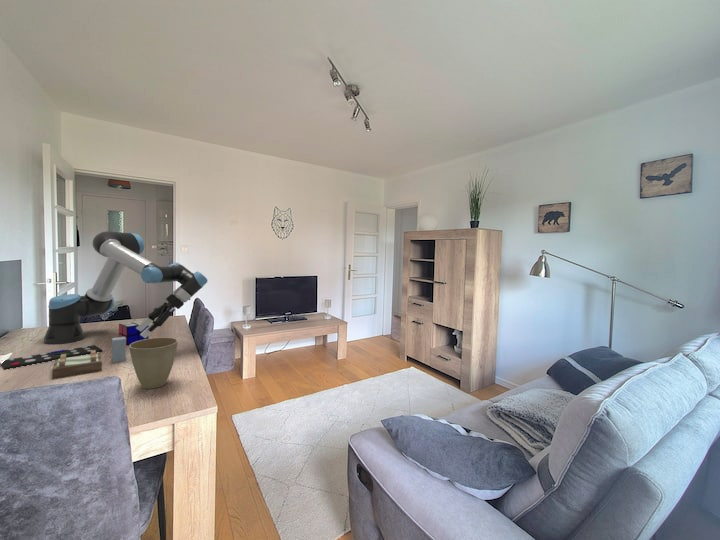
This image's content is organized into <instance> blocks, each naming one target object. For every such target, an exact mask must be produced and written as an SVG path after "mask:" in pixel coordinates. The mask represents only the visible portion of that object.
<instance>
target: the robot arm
mask: <svg viewBox="0 0 720 540" xmlns="http://www.w3.org/2000/svg"><path fill="white" fill-rule="evenodd" d="M92 248H93V249H94V251H96V253H98V254H99V255H100V256H102V257H105V258H107V259H106V261H105V263H104V265H103V267H102V269H101V270H100V273H99V275H98V277H97V278H96V280H95V283H93V286H92V287H91V288H88V289H87V290H86V291H85V294H84V295H80V294H78V293H69V294H61V295H57V296H54V297H51V298H50V299H49V300H48V301H49V302H48V328H47V330H46V333H45V335H44V336H43V343H44V344H47V343H49V344H48V345H57V344H59V343H61V344H67V343H68V344H69V343H73V342H74V343H75V342H78V341H81V340H83V339H85V332H84V330H83V327H82V326H81V318H87V317H88V318H89V317H93V316H101V315H104V314H108V313H109V312H111V311H112V310H113V308H114V306H115V303H114V302H115V299H114V297H113V294H112V292H113V291H114V289H115V286H116V284H117V283H118V281H119V279H120V277H121V275H122V273H123V272H124V270H125V268H128V269H130V270H132V271H133V272H135V273H137V274H138V275H140V277H141V278H140V279H142V281H143V282H144V283H146V284H159V283H161V284H162V283H169V282H170V283H171V282H178V283H179V284H181V285H180V286H178V287H177V288H176V289H175V290H173V292H172V293H171V294H169V296H166V298H165V300H166V301H167V302H163V304H161V305H160V306H159V307H157V308H156V309H155V310H153V311H152V312H150V313H148V316H147V317H146V318H145V319H144V320H143V321H142V323H141V324H140V325H139V326H137V327H136V329H138V330H139V331H142V330H143V329H145V328H146V327H147V326H148V325H149V327H147V328H146V329H145V330H144V331H143V332H142V333H141V334H140V335H141V336H143V337H144V338H146V337H147V336H148V337H150V335H151V334H152V333H153V332H154V331H155V330H157V328H159V327H162V326H163V325H164V323H165V322H166V321H167V320H168V319H169V317H171V315H172V314H173V313H174V312H175V311H176V309H177V310H178V309H181V308H182V307H183V306H184V304H185V303H187V302H188V301H190V300H191V298H192V297H194V296H195V294H197V292H199V291H200V290H201V289H203V288H204V286H205V285H206V284H207V283H208V278H207V277H206V276H205V275H204V274H202V272H199V271H195V272H192V271H191V270H189V269H188V268H186V267H185V265H183V264H181V263H180V262H173V263H170V264H169V265H168V266H160V265H158V264H156V263H154V262H152V261H151V260H149V259H147V258H145V257H143V256H142V255H141V254H142V253H143V252H144V251H145V243H144V240H143V238H142V237H141V236H140V235H139V234H137V233H132V232H122V231H121V232H119V231H112V230H111V231H109V230H108V231H107V230H106V231H102V232H99V233H98V234H96V235H95V236H94V238H93V240H92ZM59 345H60V344H59Z"/></svg>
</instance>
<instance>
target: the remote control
mask: <svg viewBox="0 0 720 540" xmlns="http://www.w3.org/2000/svg"><path fill="white" fill-rule="evenodd" d="M91 350H96V354H97V352H99V353H103V348H100V347H99V346H97V345H95V344H92V345H85V346H80V347H75V348H68V349H61V350H55V351H54V350H53V351H50V352H44V353H43V352H42V353H38V354H35V355H34V354H33V355H26V356H21V357H15V358H9V359H4V360H5V361H4V362H3V363H2V365H1V367H2V369H3V370H4V371H7V370H6V369H8V370H11V369H10V368H13V369H17V368H16V367H19V368H22V367H21V366H24V367H28V366H27V365H29V366H33V365H32V364H35V365H38V364H37V363H40V364H43V363H42V362H45V363H49V362H48V361H51V362H53V361H52V360H55V359H60V357H61V354H66V358H68V357H75V356H81V355H86V354H88V355H90V354H91Z"/></svg>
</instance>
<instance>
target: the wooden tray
mask: <svg viewBox="0 0 720 540" xmlns="http://www.w3.org/2000/svg"><path fill="white" fill-rule="evenodd" d="M102 361H103V360H102V352H99V353H96V350H91V354H88V355H82V356H75V357H68V358H66V354H61V357H60V359H55V361H53V366H52V380H54V379H55V378H56V379H61V378H67V377H72V376H77V375H78V376H79V375H85V374H89V373H90V374H91V373H97V372H102V371H103V370H102V369H103V368H102V367H103V364H102V363H103V362H102Z"/></svg>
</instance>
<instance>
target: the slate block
mask: <svg viewBox="0 0 720 540" xmlns="http://www.w3.org/2000/svg"><path fill="white" fill-rule="evenodd" d="M126 348H127V345H126V338H125V337H119V336H118V337H112V338H111V362H112V364H116V363H117V364H118V363H122V362H126V359H127V358H126V357H127V355H126V354H127V353H126V351H127V350H126Z"/></svg>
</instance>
